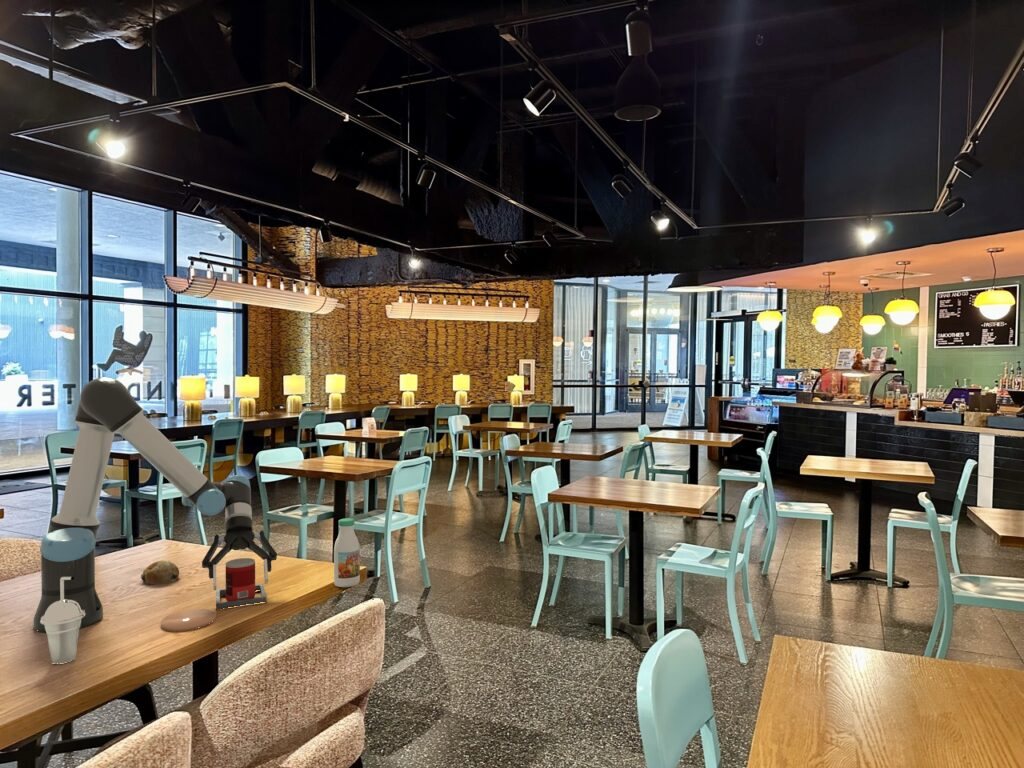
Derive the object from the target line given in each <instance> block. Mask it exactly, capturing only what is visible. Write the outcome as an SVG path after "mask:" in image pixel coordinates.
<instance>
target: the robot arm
mask: <svg viewBox="0 0 1024 768" xmlns="http://www.w3.org/2000/svg"><path fill="white" fill-rule="evenodd" d="M74 422H75V423H76V425H77V426H78V428H79V430H78V434H77V438H76V443H75V447H74V450H73V455H72V459H71V463H70V469H69V471H68V472H69V473H68V476H67V481H66V485H65V488H64V489H65V490H64V493H63V497H62V502H61V507H60V510H59V513H57V514H56V515H55V516H53V517H52V518H51V519H50V524H49V528H48V532H47V533H46V535H44V536H43V537H42V539H41V543H40V547H39V551H40V554H41V555H40V558H41V559H40V561H41V562H40V565H41V568H40V569H41V570H40V571H41V574H40V575H41V578H40V579H41V596H40V600H39V602H38V606H37V608H36V611H35V614H34V617H33V623H32V625H33V629H34V631H36V630H38V631H37V632H40V631H42V632H41V633H46V630H45V625H44V624H41V623H40V621H41V617H42V616H44V615H45V612H46V610H47V609H48V607H49V606H50V605H51V604H53V603H54V602H56V601H58V600H60V579H61V577H74V579H73V580H64V599H71V600H74V601H76V602H77V603H78V604H79V605H80V607H81V609H84V610H85V614H86V615H85V616H84V617H83V618H82V619H81V624H80V627H79V629H81V628H84V627H88V626H90V625H93V624H95V623H97V622H99V621H100V620H101V619H103V616H104V607H103V605H102V602H101V599H100V597H99V595H98V592H97V590H96V561H95V558H96V555H95V554H96V551H95V550H96V549H95V547H96V542H97V537H98V533H99V530H100V524H101V522H100V520H99V518H98V517H96V516H97V515H96V514H97V510H98V506H99V502H100V498H101V493H102V489H103V484H104V480H105V477H106V473H107V467H108V464H109V459H110V455H111V449H112V446H113V441H114V438H115V434H118V435H120V436H121V437H122V438H123V439H124V440H125V441H126V442H127V443H129V445H130V446H131V447H133V448H134V449H135V450H136V451H137V453H139V454H140V455H141V456H142V457H143V458H144V459H145V460H147V462H148V463H150V464H151V466H153V467H154V468H155V469H156V471H158V472H159V473H160V474H161V476H162V477H164V478H165V479H167V481H168V482H169V483H170V484H171V485H172V486H173V487H175V488H176V490H177V491H179V492H180V493H181V503H182V505H183V506H186V507H195V508H197V510H198V512H200V513H201V514H202V515H204V516H209V517H211V516H216V515H218V514H220V513H221V512H222V511H223V510H224V509H225V510H224V511H225V513H224V515H225V517H224V518H225V535H224V536H219V535H218V534H215V535H214V537H213V542H212V543H211V546H210V547H209V548H208V551H207V552H206V554H205V556H204V557H203V559H202V561H201V568H203V569H208V579H210V580H211V579H212V580H213V591H216V590H217V565H218V564H219V562H221V561H222V560H223V558H225V556H226V555H227V554H229V553H230V552H231V551H232V550H234V551H238V550H246V549H248V550H250V551H252V552H253V553H255V554H256V555H257V556H258V557H259V558H260V559H262V560H263V574H264V584H265V585H267V584H269V573H271V571H272V561H276V560H277V558H278V554H277V553H278V552H276V550H275V549H274V547H273V546H272V545H271V543H270V542H269V541H268V539H267V538H266V536H265V532H264V530H260V531H259V532H257V533H254V532H253V516H252V515H253V512H252V495H251V494H252V493H251V492H252V489H251V481H250V480H249V478H248V477H247V476H245V475H242V474H236V475H234V476H233V475H231V476H229V477H227V478H226V480H225V481H224V482H223V481H222V482H217V481H216V482H215V481H214V482H213V481H211V480H209V479H208V478H207V476H206V475H205V474H204V473H203V472H202V471H201V470H200V469H198V468H197V466H195V465H194V464H193V462H191V460H190V459H188V457H187V456H186V455H184V454H183V452H181V451H180V450H179V449H178V448H177V447H176V446H175V445H174V444H173V443H172V442H171V441H170V440H169V439H168V438H167V437H166V436H165V435H164V434H163V433H162V432H161V431H160V430H159V428H157V427H156V426H155V425H154V424H153V423H152V422H151V421H150V420H149V419H148V418H147V417H146V416H145V415H144V409H143V408H142V406H140V405H139V403H138V402H136V400H135V399H134V397H133V396H132V395H131V393H130V392H129V389H128V388H127V387H126V386H125V385H124V384H123V383H122V382H120V380H117V379H115V378H112V377H105V376H104V377H97V378H94V379H92V380H90V381H89V382H87V383H86V384H85V385H84V386H83V388H82V390H81V392H80V395H79V403H78V407H77V410H76V415H75V419H74ZM255 539H257V541H258V542H260V544H261V545H262V547H263V548H264V549H265V550H264V549H263V548H262V547H261V546H259V545H258V544H257V543H256V542H255V541H254V540H255ZM223 542H224V543H225V544H224V546H223V548H221V549H220V550H219V552H218V553H217V554H215V553H216V551H217V550H218V547H219V545H221V544H222V543H223ZM214 555H215V556H214ZM213 556H214V557H213Z"/></svg>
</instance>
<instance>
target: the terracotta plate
mask: <svg viewBox="0 0 1024 768" xmlns="http://www.w3.org/2000/svg"><path fill="white" fill-rule="evenodd" d="M215 618H216V619H217V613H216V611H214V610H211V609H207V608H206V609H205V608H196V609H187V610H186V609H185V610H181V611H177V612H174V613H171V614H169V615H167V616H165V617H163V618H162V619H161V620H160V628H161V629H162V630H164V631H169V632H185V631H192V629H193V630H197V629H199V628H198V627H201V628H203V627H202V626H204V625H207V624H209V623H211V622H212V621H214V620H215V621H216V619H215ZM215 621H214V622H215ZM212 623H213V622H212ZM212 623H211V624H212ZM209 625H210V624H209ZM207 626H208V625H207ZM204 627H205V626H204ZM196 628H197V629H196Z"/></svg>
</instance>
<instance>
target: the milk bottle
mask: <svg viewBox="0 0 1024 768" xmlns="http://www.w3.org/2000/svg"><path fill="white" fill-rule="evenodd" d="M338 527H339V531H338V535H337V538H336V540H335V542H334V548H333V583H334V585H335V587H339V588H350V587H355V586H357V585H359V584H360V581H361V580H360V579H361V573H360V571H361V569H360V567H361V563H360V562H361V558H360V555H361V554H360V552H361V551H360V542H359V539H358V537H357V535H356V533H355V529H354V527H355V519H354V518H352V517H351V518H350V517H347V518H341V519H339V520H338Z"/></svg>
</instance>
